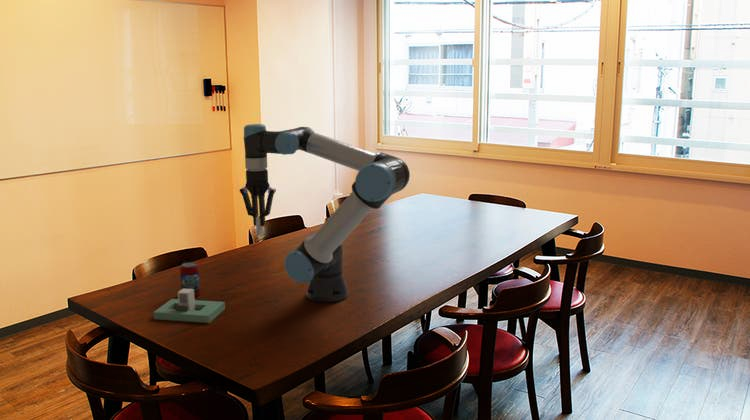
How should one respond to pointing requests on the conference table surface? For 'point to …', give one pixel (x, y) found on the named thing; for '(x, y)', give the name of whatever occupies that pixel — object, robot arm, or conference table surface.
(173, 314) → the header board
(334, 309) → the conference table surface
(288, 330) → the conference table surface
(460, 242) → the conference table surface
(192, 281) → the beverage can
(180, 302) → the plug
